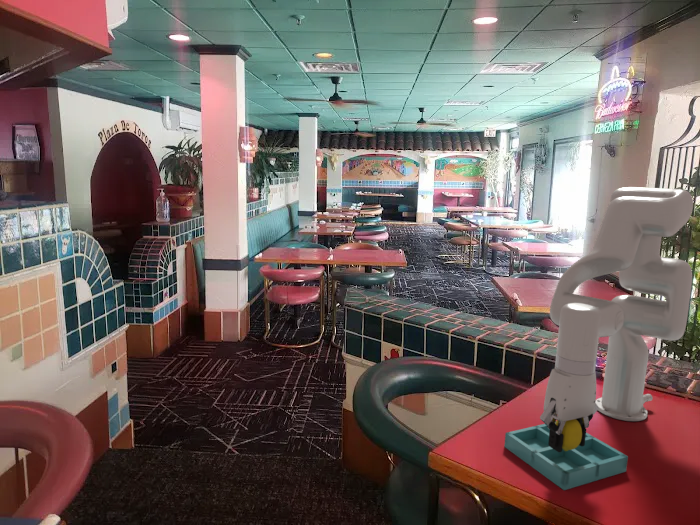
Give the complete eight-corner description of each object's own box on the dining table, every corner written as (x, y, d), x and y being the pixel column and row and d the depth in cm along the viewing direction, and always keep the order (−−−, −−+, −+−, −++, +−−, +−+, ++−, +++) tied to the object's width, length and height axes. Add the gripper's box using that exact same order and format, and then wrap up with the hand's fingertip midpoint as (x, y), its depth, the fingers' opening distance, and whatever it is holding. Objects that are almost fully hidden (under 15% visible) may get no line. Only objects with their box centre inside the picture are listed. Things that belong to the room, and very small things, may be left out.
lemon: (582, 459, 107) (586, 423, 105) (553, 455, 108) (557, 419, 106) (576, 445, 112) (580, 411, 111) (549, 442, 113) (553, 407, 112)
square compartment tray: (562, 432, 128) (563, 419, 127) (626, 471, 112) (628, 456, 111) (504, 446, 121) (505, 432, 120) (564, 490, 105) (565, 474, 104)
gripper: (590, 353, 113) (581, 430, 117) (529, 363, 106) (521, 445, 110) (620, 365, 107) (610, 447, 110) (557, 376, 100) (548, 463, 103)
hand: (566, 445), depth 110 cm, fingers closed on lemon, 5 cm apart
